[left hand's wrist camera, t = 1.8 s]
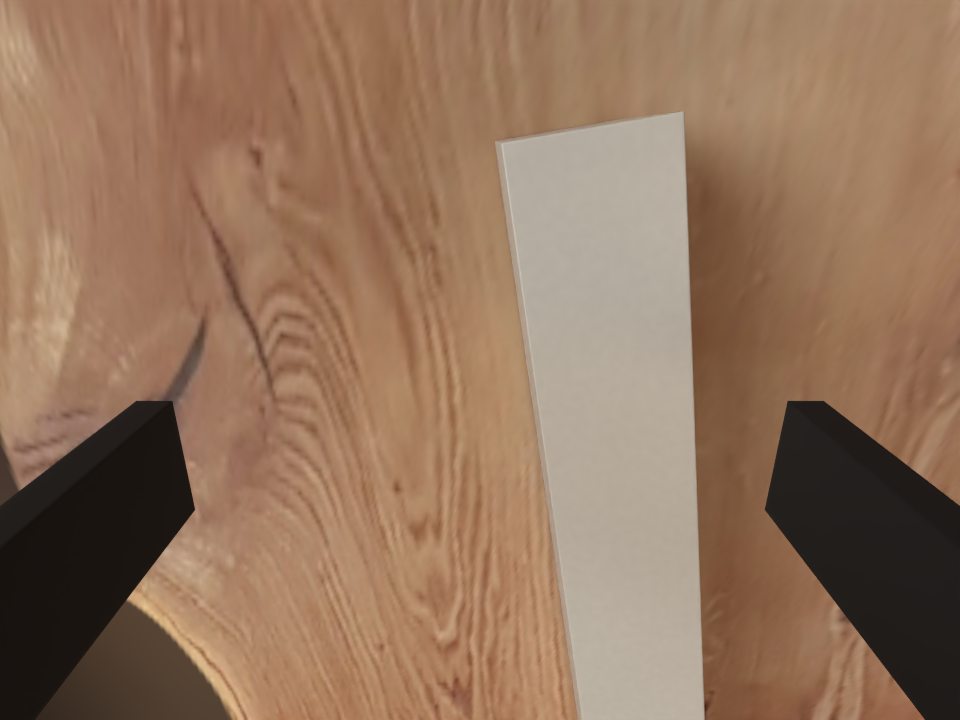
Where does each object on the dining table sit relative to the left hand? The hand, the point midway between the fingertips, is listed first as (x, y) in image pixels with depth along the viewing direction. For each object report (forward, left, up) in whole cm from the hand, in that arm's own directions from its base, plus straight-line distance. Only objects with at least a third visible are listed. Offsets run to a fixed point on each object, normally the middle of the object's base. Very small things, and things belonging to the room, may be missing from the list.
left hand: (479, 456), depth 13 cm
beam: (-1, +32, -16) cm, 35 cm away
